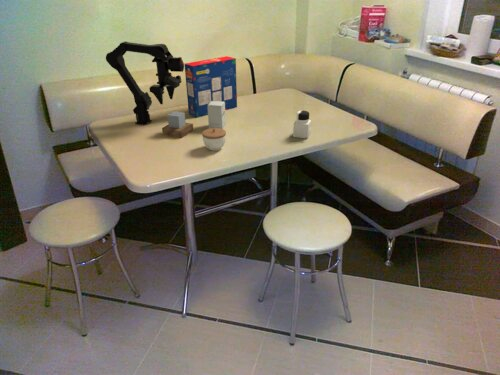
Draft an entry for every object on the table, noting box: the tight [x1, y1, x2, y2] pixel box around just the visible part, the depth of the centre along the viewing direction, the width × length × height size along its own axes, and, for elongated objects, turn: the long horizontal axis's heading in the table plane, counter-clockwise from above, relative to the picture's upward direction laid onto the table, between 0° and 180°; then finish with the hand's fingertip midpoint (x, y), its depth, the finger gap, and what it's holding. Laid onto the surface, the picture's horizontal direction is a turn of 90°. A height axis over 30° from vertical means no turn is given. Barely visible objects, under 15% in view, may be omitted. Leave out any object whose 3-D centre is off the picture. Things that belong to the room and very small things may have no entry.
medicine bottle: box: [292, 110, 312, 139], centre depth 198 cm, size 7×7×12 cm
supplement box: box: [207, 101, 226, 130], centre depth 210 cm, size 7×7×13 cm
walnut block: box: [161, 122, 194, 139], centre depth 206 cm, size 11×11×4 cm
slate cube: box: [167, 111, 187, 128], centre depth 204 cm, size 6×6×6 cm
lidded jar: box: [201, 128, 227, 152], centre depth 187 cm, size 11×11×9 cm
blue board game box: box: [184, 55, 238, 119], centre depth 229 cm, size 28×8×28 cm, turn 129°
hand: (166, 101), depth 212 cm, fingers open, 9 cm apart
